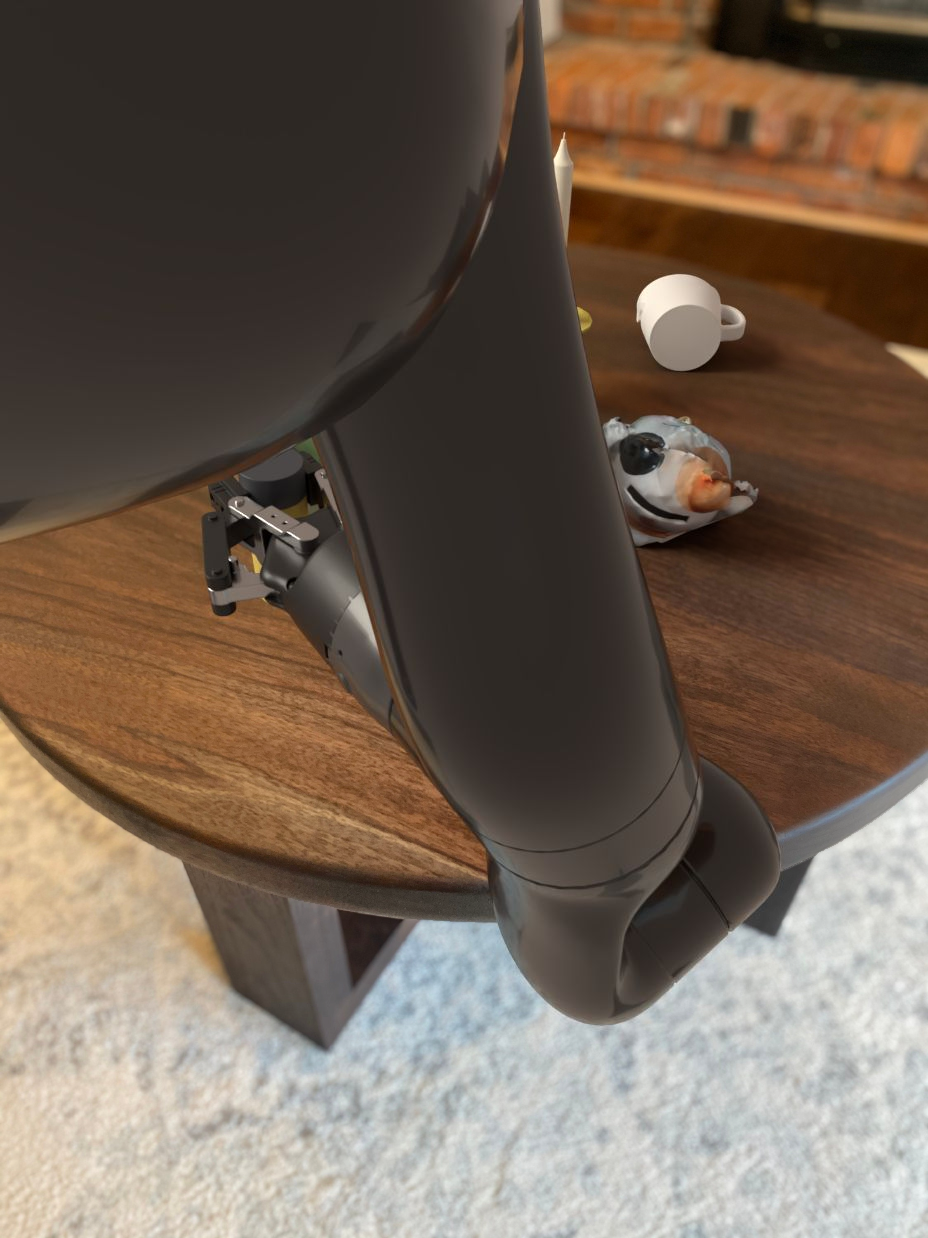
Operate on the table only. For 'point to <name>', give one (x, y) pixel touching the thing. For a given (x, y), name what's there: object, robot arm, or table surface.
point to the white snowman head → (672, 477)
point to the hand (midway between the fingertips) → (253, 471)
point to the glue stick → (278, 487)
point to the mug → (685, 321)
